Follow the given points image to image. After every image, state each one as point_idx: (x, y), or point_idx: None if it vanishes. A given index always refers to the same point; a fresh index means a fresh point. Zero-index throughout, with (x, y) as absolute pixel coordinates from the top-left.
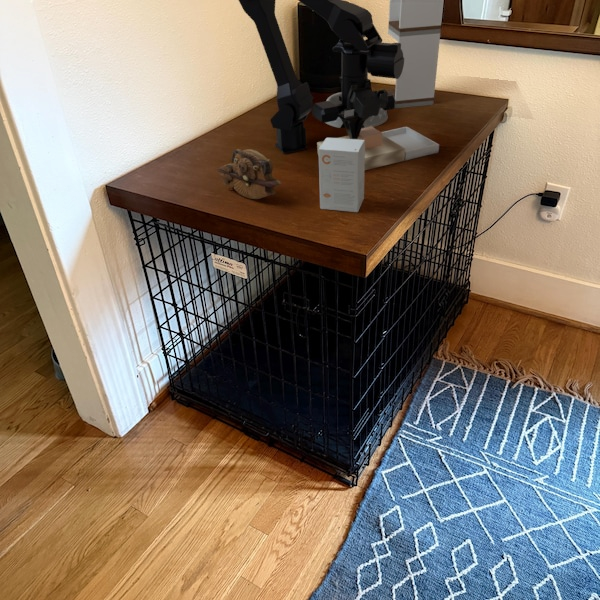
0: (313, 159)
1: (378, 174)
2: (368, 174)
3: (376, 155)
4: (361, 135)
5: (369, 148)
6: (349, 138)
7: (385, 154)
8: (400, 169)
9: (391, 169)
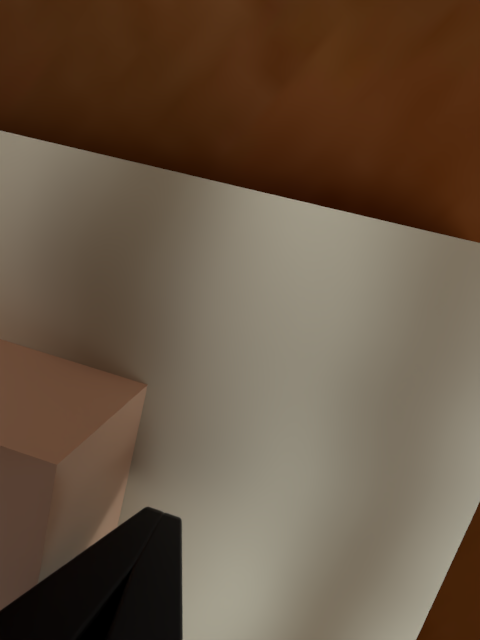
0: None
1: (266, 73)
2: (327, 134)
3: (146, 165)
4: (41, 526)
5: (85, 354)
6: None
7: (47, 143)
8: (69, 25)
9: (122, 78)
